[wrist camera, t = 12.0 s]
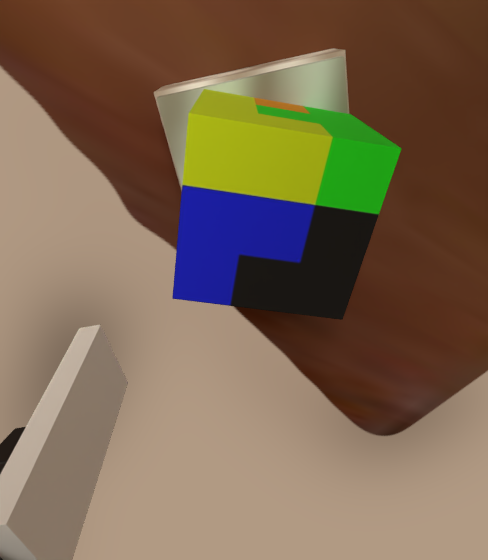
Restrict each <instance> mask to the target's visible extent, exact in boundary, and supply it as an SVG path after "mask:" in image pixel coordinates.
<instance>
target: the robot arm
mask: <svg viewBox="0 0 488 560" xmlns="http://www.w3.org/2000/svg"><path fill="white" fill-rule="evenodd" d="M127 384H128V382H127V380H126V378H125V375H124V373H123V371H122V369H121V367H120V365H119V363H118V361H117V358H116V356H115V354H114V352H113V350H112V348H111V346H110V343H109V341H108V339H107V337H106V335H105V333H104V331H103V329H102V327H101V325H95V326H90V327H85V328H79V330H78V332H77V333H76V335H75V337H74V339H73V341H72V343H71V345H70V347H69V348H68V350H67V352H66V354H65V356H64V358H63V359H62V361H61V363H60V365H59V367H58V369H57V371H56V372H55V374H54V376H53V378H52V380H51V382H50V383H49V385H48V387H47V389H46V391H45V393H44V394H43V397H42V398H41V400H40V402H39V404H38V406H37V407H36V409H35V411H34V413H33V415H32V417H31V419H30V421H29V422H28V424H27V426H26V427H22V428H17V429H14V430H13V431H12V432H11V434H9V436H8V437H7V438H6V439H5V440H4V441H3V442H2V443H1V444H0V560H72V559H73V556H74V552H75V549H76V546H77V543H78V540H79V536H80V533H81V530H82V527H83V524H84V521H85V517H86V514H87V511H88V508H89V505H90V502H91V499H92V495H93V492H94V489H95V486H96V483H97V479H98V476H99V473H100V470H101V467H102V464H103V460H104V457H105V454H106V451H107V448H108V444H109V441H110V438H111V435H112V432H113V429H114V426H115V422H116V419H117V416H118V413H119V410H120V407H121V403H122V400H123V397H124V394H125V390H126V388H127Z"/></svg>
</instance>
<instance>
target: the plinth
mask: <svg viewBox="0 0 488 560" xmlns="http://www.w3.org/2000/svg"><path fill="white" fill-rule="evenodd" d="M204 89H208V90H213V91H219V92H225V93H231V94H237V95H242V96H248V97H254V98H260V99H265V100H271V101H277V102H283V103H289V104H294V105H300V106H306V107H312V108H318V109H323V110H329V111H335V112H341V113H347V114H349V102H348V86H347V71H346V55H345V50H342V49H334V48H333V49H328V50H324V51H319V52H315V53H310V54H306V55H301V56H297V57H292V58H288V59H283V60H279V61H274V62H270V63H265V64H261V65H256V66H252V67H247V68H243V69H238V70H234V71H229V72H225V73H220V74H216V75H211V76H207V77H203V78H198V79H194V80H189V81H185V82H180V83H176V84H171V85H167V86H163V87H161V88H160V89H158V90H157V91H155V92H154V96H155V99H156V103H157V106H158V110H159V113H160V117H161V120H162V124H163V127H164V131H165V134H166V138H167V141H168V145H169V148H170V152H171V155H172V159H173V163H174V166H175V170H176V173H177V177H178V180H179V184H180V187H181V191H182V183H183V171H184V160H185V148H186V137H187V125H188V113H189V111H190V110H191V108H192V107H193V105H194V104H195V102H196V101H197V99H198V97H199V96H200V94H201V93H202V91H203V90H204Z"/></svg>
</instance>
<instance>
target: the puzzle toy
mask: <svg viewBox="0 0 488 560" xmlns="http://www.w3.org/2000/svg"><path fill="white" fill-rule="evenodd" d="M400 151H401V148H400V147H399V146H397V145H396V144H394V143H393V142H391V141H390V140H388V139H387V138H385V137H384V136H382V135H381V134H379V133H378V132H376V131H375V130H373V129H372V128H370V127H369V126H367V125H366V124H364V123H363V122H362V121H360V120H359V119H357V118H356V117H354V116H353V115H351V114H347V113H341V112H335V111H329V110H323V109H318V108H312V107H306V106H300V105H294V104H289V103H283V102H277V101H271V100H265V99H260V98H254V97H248V96H242V95H237V94H231V93H225V92H219V91H213V90H208V89H204V90H203V91H202V93H201V94H200V96H199V97H198V99H197V101H196V102H195V104H194V105H193V107H192V108H191V110H190V111H189V113H188V125H187V137H186V148H185V160H184V171H183V183H182V195H181V206H180V218H179V229H178V241H177V253H176V264H175V276H174V288H173V299H182V300H189V301H197V302H205V303H213V304H221V305H229V306H237V307H245V308H253V309H261V310H269V311H277V312H285V313H293V314H301V315H309V316H317V317H325V318H333V319H341V320H342V319H343V316H344V313H345V310H346V308H347V305H348V302H349V299H350V296H351V293H352V290H353V287H354V284H355V281H356V279H357V276H358V273H359V270H360V267H361V264H362V261H363V258H364V255H365V253H366V250H367V247H368V244H369V241H370V238H371V235H372V232H373V229H374V226H375V224H376V221H377V218H378V215H379V212H380V209H381V206H382V203H383V200H384V198H385V195H386V192H387V189H388V186H389V183H390V180H391V177H392V174H393V172H394V169H395V166H396V163H397V160H398V157H399V154H400Z"/></svg>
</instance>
